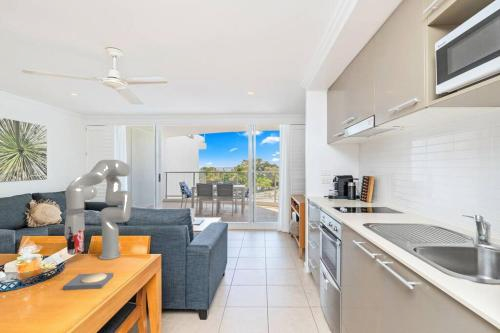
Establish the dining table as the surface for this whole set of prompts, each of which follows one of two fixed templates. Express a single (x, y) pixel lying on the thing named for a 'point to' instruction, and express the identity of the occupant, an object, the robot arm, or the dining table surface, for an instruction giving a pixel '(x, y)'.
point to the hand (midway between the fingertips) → (75, 246)
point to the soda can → (77, 243)
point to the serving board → (88, 281)
